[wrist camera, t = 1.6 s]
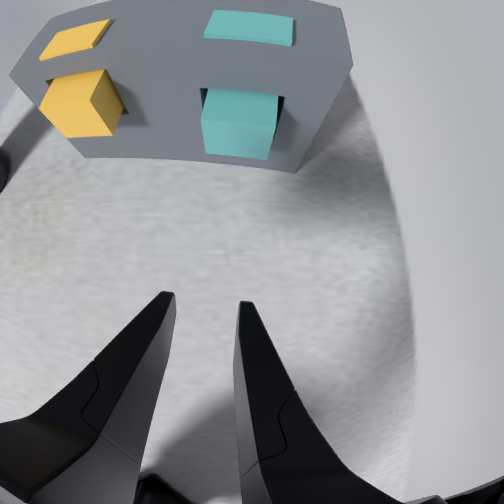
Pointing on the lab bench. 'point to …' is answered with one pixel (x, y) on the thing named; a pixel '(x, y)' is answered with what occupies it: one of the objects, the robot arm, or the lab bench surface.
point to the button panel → (196, 70)
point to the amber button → (83, 104)
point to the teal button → (239, 123)
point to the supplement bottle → (4, 166)
